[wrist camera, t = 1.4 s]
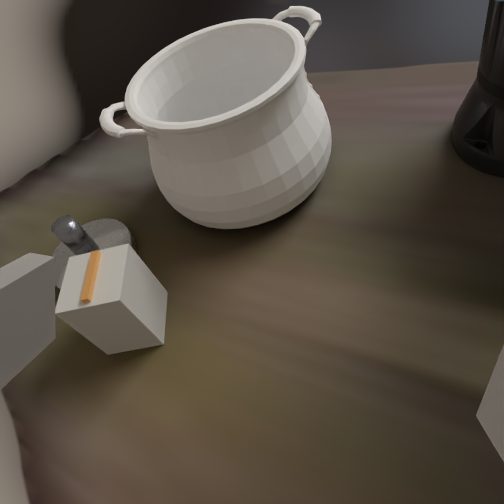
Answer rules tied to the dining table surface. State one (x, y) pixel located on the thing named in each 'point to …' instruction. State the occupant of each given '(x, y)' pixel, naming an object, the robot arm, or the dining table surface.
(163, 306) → the box with orange strip
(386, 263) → the dining table surface
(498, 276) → the dining table surface
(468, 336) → the dining table surface
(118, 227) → the hub plate
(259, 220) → the pot
